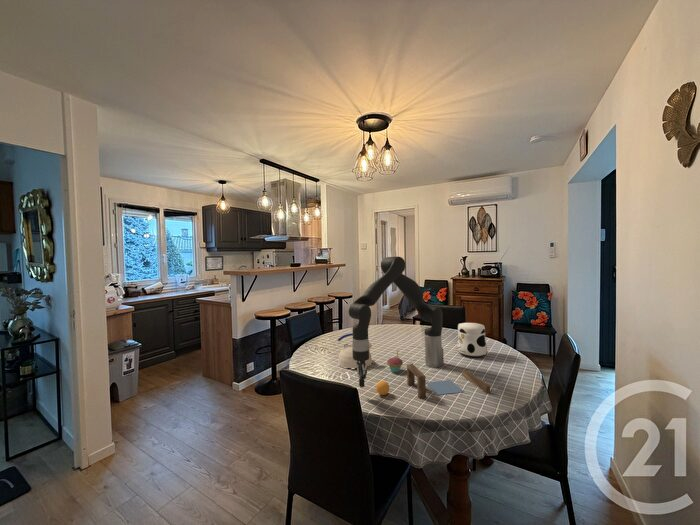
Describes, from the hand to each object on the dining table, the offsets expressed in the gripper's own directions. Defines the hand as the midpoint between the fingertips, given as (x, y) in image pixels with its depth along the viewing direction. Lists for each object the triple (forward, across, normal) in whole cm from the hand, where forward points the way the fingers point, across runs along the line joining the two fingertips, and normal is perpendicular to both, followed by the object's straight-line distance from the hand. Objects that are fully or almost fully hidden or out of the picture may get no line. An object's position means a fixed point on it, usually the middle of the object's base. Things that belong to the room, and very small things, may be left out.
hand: (361, 386), depth 133 cm
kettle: (+5, +42, -5) cm, 43 cm away
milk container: (+4, +38, -78) cm, 87 cm away
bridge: (+4, 0, -26) cm, 26 cm away
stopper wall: (+4, 0, -56) cm, 56 cm away
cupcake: (+5, +25, -24) cm, 35 cm away
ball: (+2, 0, -10) cm, 10 cm away
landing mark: (+4, 0, -40) cm, 40 cm away
